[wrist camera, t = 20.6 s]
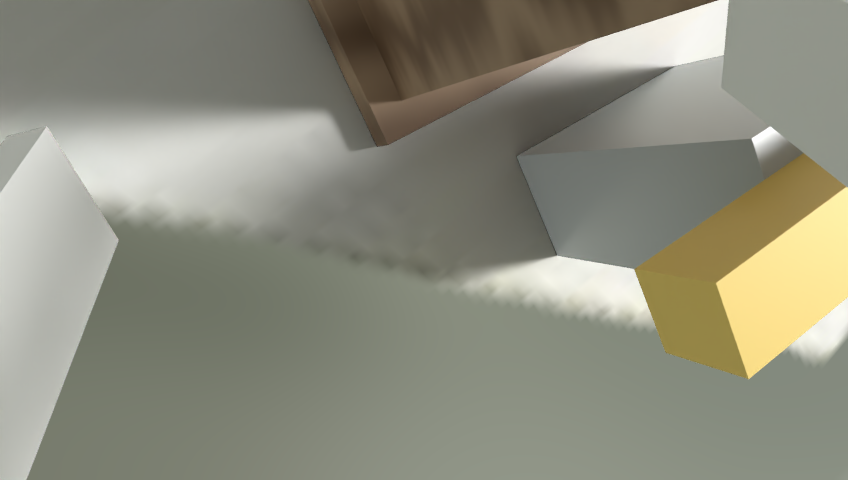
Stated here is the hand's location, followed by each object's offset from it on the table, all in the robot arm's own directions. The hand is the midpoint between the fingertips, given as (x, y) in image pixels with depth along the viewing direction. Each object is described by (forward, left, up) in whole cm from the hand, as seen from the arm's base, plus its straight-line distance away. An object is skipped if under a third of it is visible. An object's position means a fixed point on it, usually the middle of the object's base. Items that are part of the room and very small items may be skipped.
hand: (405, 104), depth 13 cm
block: (+12, +23, -8) cm, 27 cm away
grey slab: (+12, +26, -27) cm, 39 cm away
